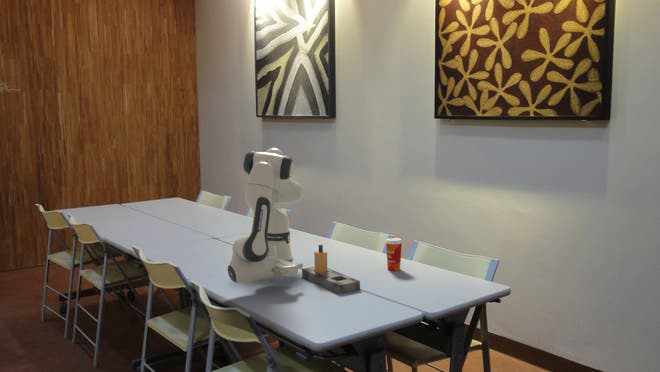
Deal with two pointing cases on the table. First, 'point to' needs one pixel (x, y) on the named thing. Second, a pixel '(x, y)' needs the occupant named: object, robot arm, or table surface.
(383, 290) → the table surface
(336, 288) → the grey socket board
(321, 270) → the plug
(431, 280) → the table surface
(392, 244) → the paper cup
